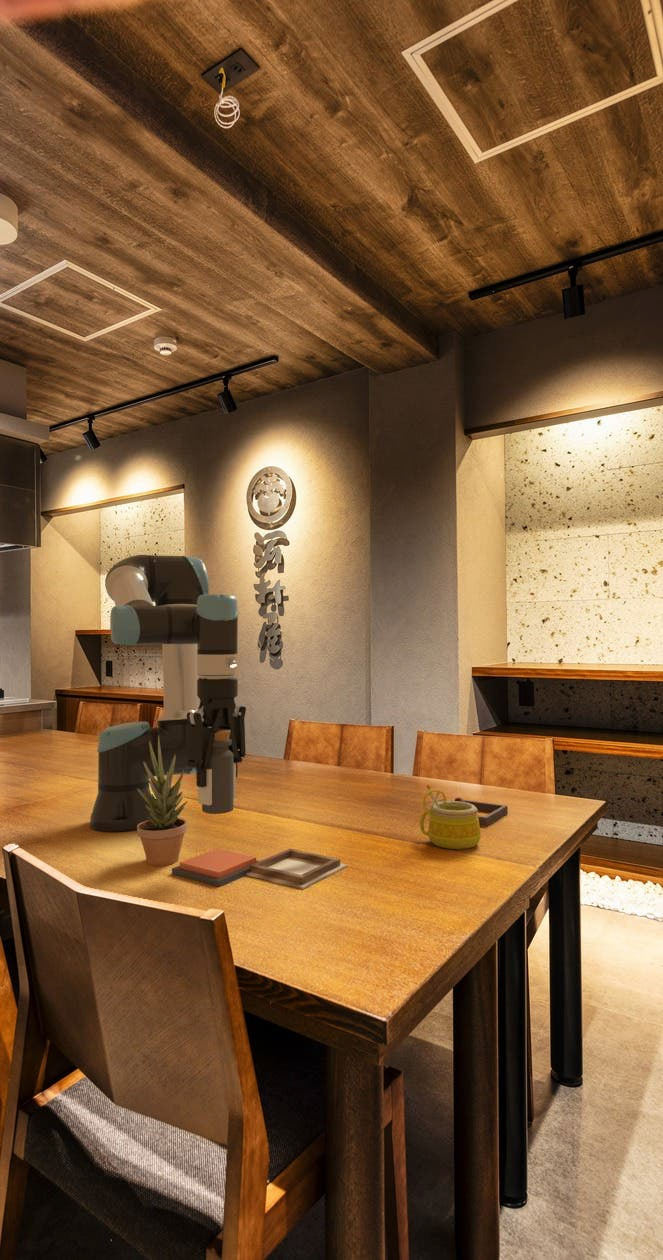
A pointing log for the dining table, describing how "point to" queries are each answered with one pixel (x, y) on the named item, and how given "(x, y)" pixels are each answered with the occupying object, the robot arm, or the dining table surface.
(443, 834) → the mug
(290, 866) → the frame
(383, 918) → the dining table surface
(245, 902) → the dining table surface
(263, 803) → the dining table surface
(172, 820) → the potted plant
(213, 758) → the cork-lidded jar
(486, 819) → the pastry tray
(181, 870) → the ink pad
